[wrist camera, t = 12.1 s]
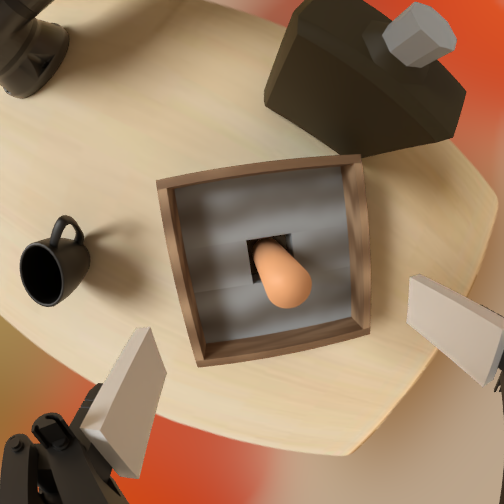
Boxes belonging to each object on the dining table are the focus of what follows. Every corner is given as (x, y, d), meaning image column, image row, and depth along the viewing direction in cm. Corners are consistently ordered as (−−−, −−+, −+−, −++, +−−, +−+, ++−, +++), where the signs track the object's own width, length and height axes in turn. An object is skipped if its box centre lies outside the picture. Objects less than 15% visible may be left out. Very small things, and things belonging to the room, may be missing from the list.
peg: (249, 240, 36) (262, 268, 22) (279, 235, 36) (309, 260, 23) (254, 269, 37) (268, 312, 23) (283, 264, 37) (313, 303, 23)
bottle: (353, 167, 35) (500, 147, 11) (255, 103, 32) (298, -26, 8) (376, 125, 34) (509, 79, 10) (284, 63, 31) (347, -61, 7)
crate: (171, 183, 34) (155, 180, 26) (334, 161, 35) (360, 154, 27) (202, 336, 38) (197, 367, 31) (346, 310, 39) (369, 333, 32)
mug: (117, 229, 34) (85, 240, 25) (86, 294, 36) (54, 319, 26) (77, 198, 33) (39, 201, 24) (50, 264, 34) (14, 281, 25)
